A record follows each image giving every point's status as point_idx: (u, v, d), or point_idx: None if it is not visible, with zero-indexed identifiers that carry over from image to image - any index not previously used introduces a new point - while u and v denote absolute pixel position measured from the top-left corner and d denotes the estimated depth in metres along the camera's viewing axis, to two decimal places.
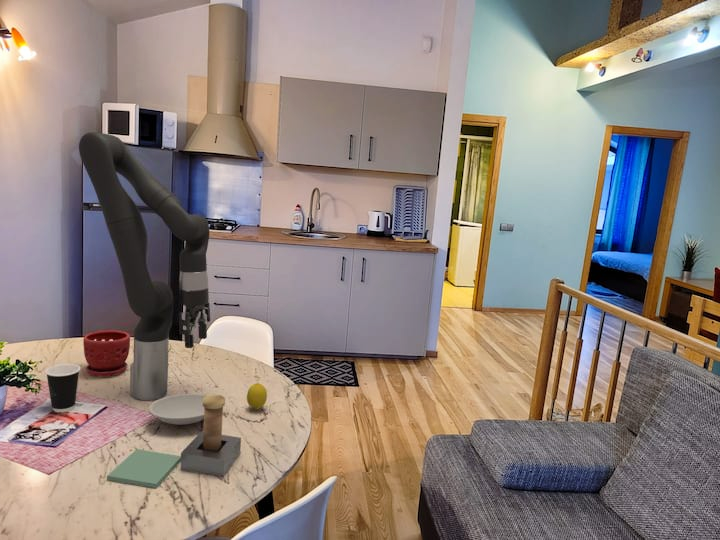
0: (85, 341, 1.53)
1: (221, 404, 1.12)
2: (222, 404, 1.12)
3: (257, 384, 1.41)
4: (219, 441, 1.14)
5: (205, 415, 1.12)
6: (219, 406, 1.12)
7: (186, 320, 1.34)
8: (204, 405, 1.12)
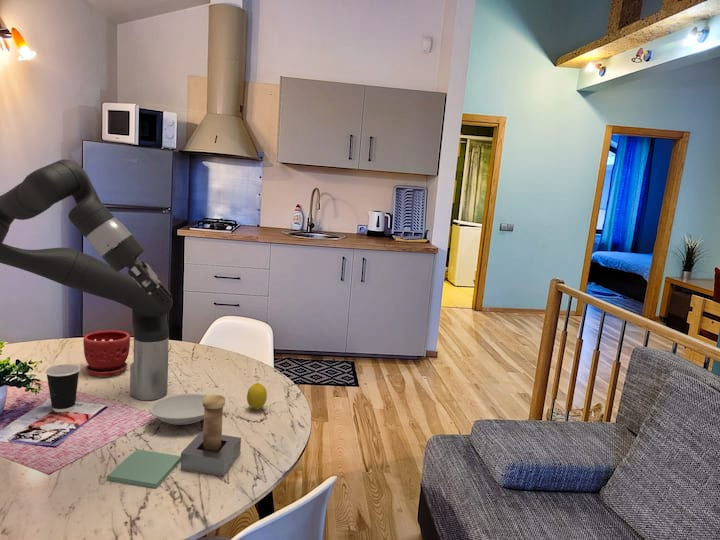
0: (85, 341, 1.53)
1: (221, 404, 1.12)
2: (222, 404, 1.12)
3: (257, 384, 1.41)
4: (219, 441, 1.14)
5: (205, 415, 1.12)
6: (219, 406, 1.12)
7: (142, 272, 1.02)
8: (204, 405, 1.12)
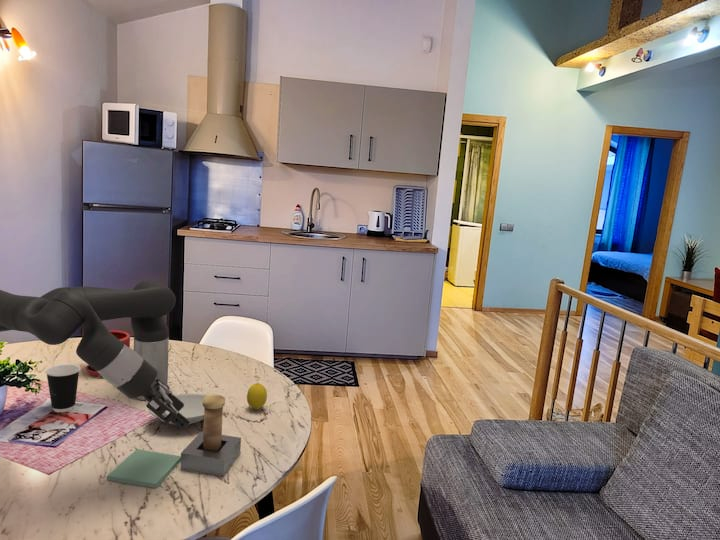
0: None
1: (221, 404, 1.12)
2: (222, 404, 1.12)
3: (257, 384, 1.41)
4: (219, 441, 1.14)
5: (205, 415, 1.12)
6: (219, 406, 1.12)
7: (161, 405, 1.00)
8: (204, 405, 1.12)
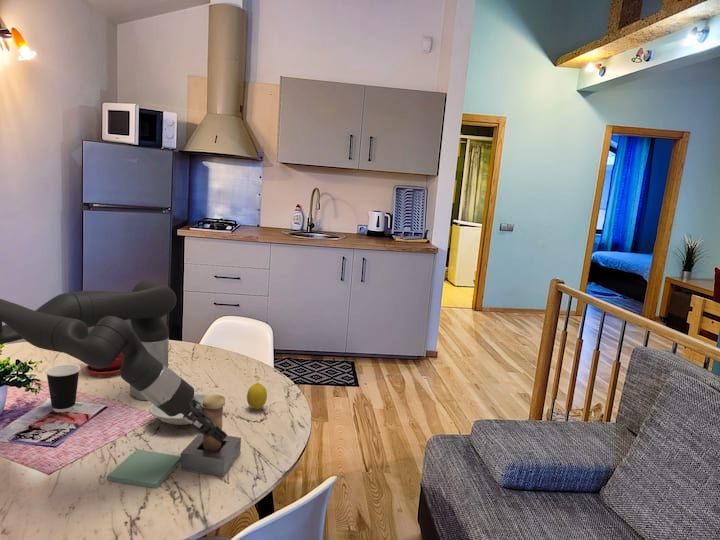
0: None
1: (221, 404, 1.12)
2: (222, 404, 1.12)
3: (257, 384, 1.41)
4: None
5: None
6: (219, 406, 1.12)
7: (204, 423, 1.07)
8: (204, 405, 1.12)
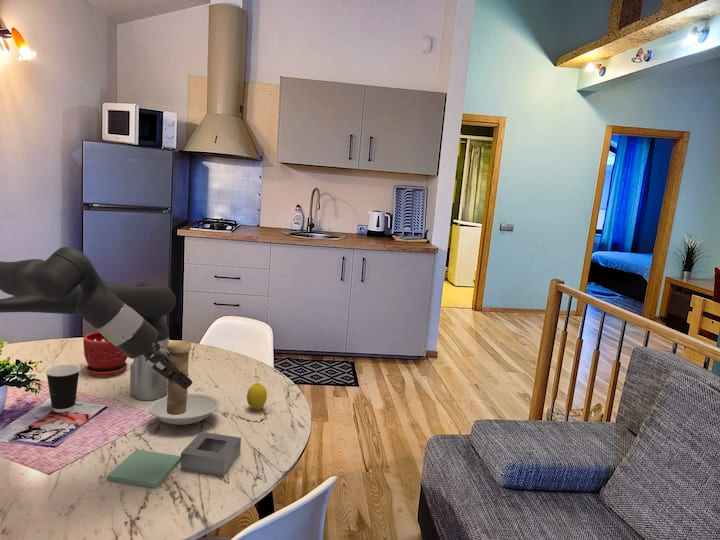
0: (85, 341, 1.53)
1: (187, 348, 1.06)
2: (188, 349, 1.07)
3: (257, 384, 1.41)
4: (184, 389, 1.08)
5: None
6: (184, 350, 1.06)
7: (167, 366, 1.01)
8: (169, 349, 1.06)
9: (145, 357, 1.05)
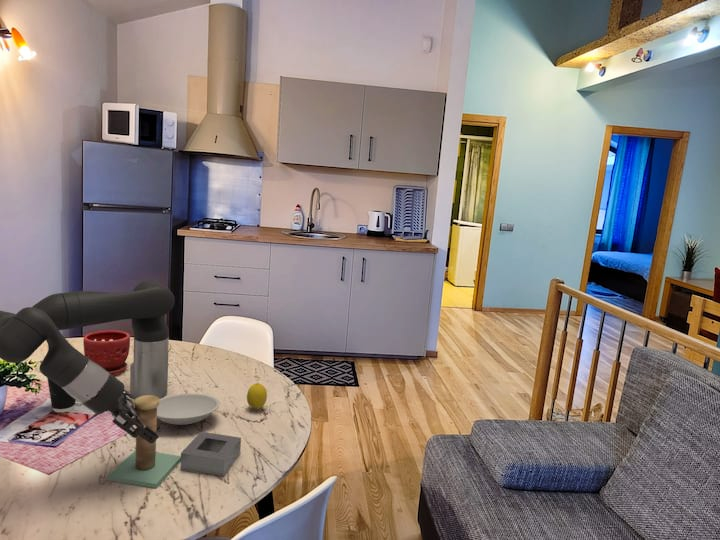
0: (85, 341, 1.53)
1: (154, 405, 1.07)
2: (155, 405, 1.07)
3: (257, 384, 1.41)
4: (153, 444, 1.09)
5: None
6: (152, 407, 1.06)
7: (128, 420, 1.00)
8: (136, 406, 1.06)
9: None
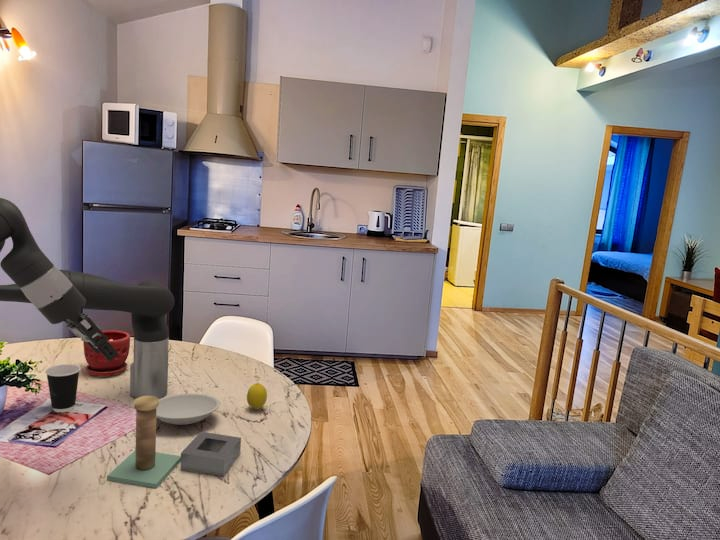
0: None
1: (153, 405, 1.06)
2: (155, 405, 1.07)
3: (257, 384, 1.41)
4: (152, 444, 1.09)
5: (137, 417, 1.07)
6: (151, 408, 1.06)
7: (93, 325, 0.97)
8: (135, 407, 1.06)
9: (69, 327, 1.01)
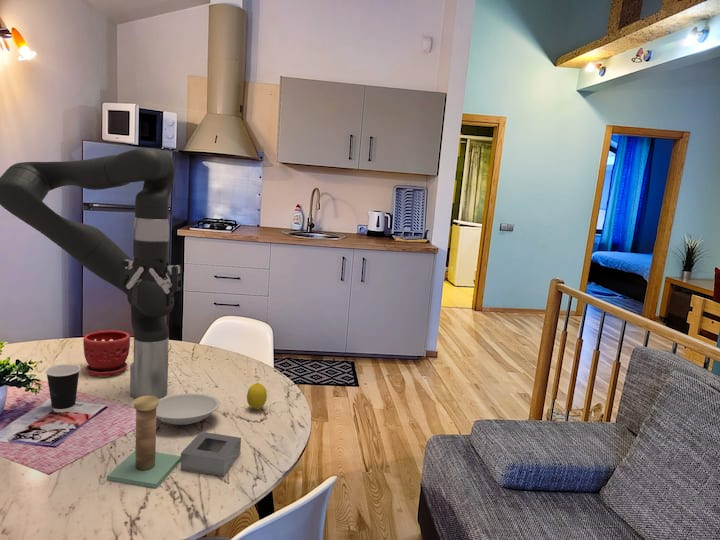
0: (85, 341, 1.53)
1: (153, 405, 1.06)
2: (154, 405, 1.07)
3: (257, 384, 1.41)
4: (152, 444, 1.09)
5: (136, 417, 1.07)
6: (151, 408, 1.06)
7: (180, 273, 1.17)
8: (135, 407, 1.06)
9: (143, 269, 1.15)
